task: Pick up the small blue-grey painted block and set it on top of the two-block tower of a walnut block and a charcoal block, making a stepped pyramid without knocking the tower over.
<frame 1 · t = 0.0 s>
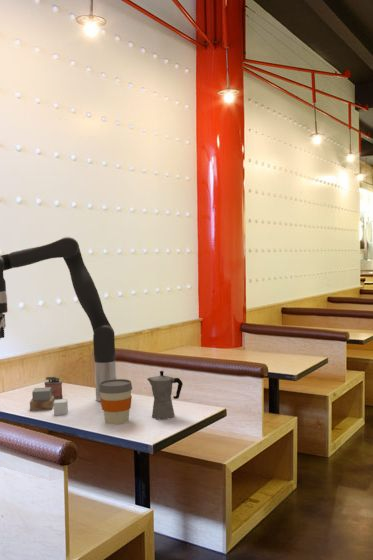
top block: (61, 413, 230), on the table
coffeepot: (165, 417, 220), on the table
walnut block: (42, 408, 240), on the table
lighter: (53, 398, 256), on the table
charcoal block: (42, 398, 240), point 4 cm above the table
reusable coffee cup: (117, 421, 216), on the table
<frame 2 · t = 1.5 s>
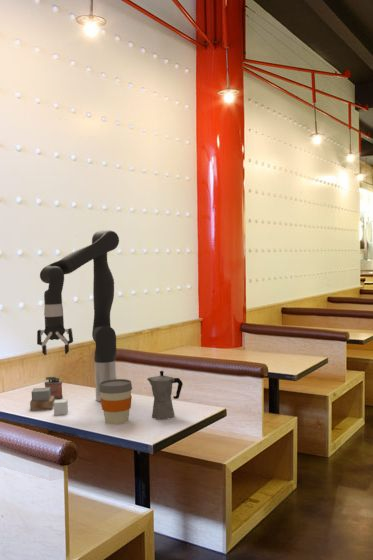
hand: (55, 354, 230), 24 cm above the table, tool pointing down, fingers open, 8 cm apart
walnut block: (42, 408, 240), on the table, touching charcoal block
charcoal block: (41, 398, 240), point 4 cm above the table, touching walnut block
everything else where it was.
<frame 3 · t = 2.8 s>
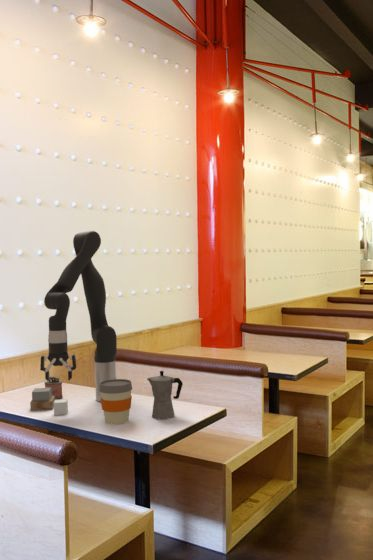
hand: (58, 380, 230), 13 cm above the table, tool pointing down, fingers open, 8 cm apart
nothing on the table moved.
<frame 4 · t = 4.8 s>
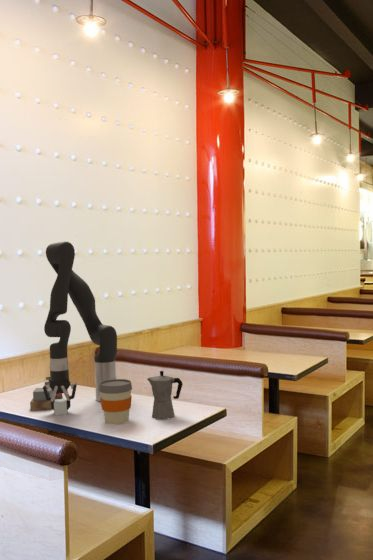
hand: (60, 409, 230), 1 cm above the table, tool pointing down, fingers closed on top block, 5 cm apart
top block: (61, 412, 231), on the table, touching gripper
everything else where it was.
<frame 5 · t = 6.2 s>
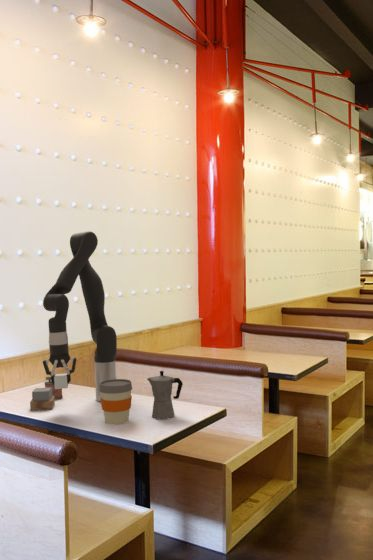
hand: (61, 383, 230), 12 cm above the table, tool pointing down, fingers closed on top block, 5 cm apart
top block: (61, 387, 230), point 11 cm above the table, touching gripper
everything else where it was.
when the fingers open (10 cm above the table, at t = 10.2 s): top block drops 1 cm, resting on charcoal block.
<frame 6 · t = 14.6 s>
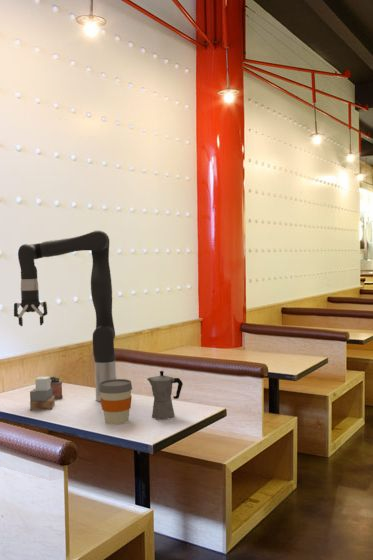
hand: (31, 325, 249), 34 cm above the table, tool pointing down, fingers open, 8 cm apart
top block: (43, 389, 240), point 8 cm above the table, touching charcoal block
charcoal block: (41, 398, 240), point 4 cm above the table, touching top block, walnut block
everything else where it was.
at the end: top block 0.9 cm off-centre on the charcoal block, point 4.0 cm above the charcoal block's base; top block tilted 0°; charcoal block 0.4 cm off-centre on the walnut block, point 4.0 cm above the walnut block's base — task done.
